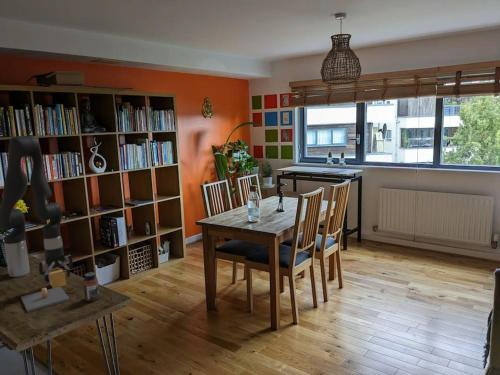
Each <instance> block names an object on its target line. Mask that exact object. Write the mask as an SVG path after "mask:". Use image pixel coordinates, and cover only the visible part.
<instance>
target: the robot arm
mask: <svg viewBox="0 0 500 375" xmlns="http://www.w3.org/2000/svg"><path fill="white" fill-rule="evenodd" d="M7 154H8V156H7V167H6V175H5V179H4V184H3V192H2V198H1V201H0V202H1V203H0V230H2V231H7V230H11V229H12V230H11V232H10V233H8V234H6V235H5V236H4V237H3V243H4V244H3V245H4V249H5V257H6V264H7V271H8V276H9V277H12V278H17V277H21V276H25V275H27V274H29V273H30V272H31V271H30V263H29V255H28V247H27V242H26V235H27V234H26V219H25V218H26V217H25V215H24V213H23V211H22V209H20V208H14V207H15V206H16V205H17V203H19V201H20V200H21V199H22V198H23V197H24V196H25V194H26V192H27V189H28V188H27V187H28V182H29V185H30V189H31V190H32V194H33V197H34V206H35V207H34V208H35V209H34V211H35V215H36V217H37V219H39V220H40V221H43V222H44V221H48V222H47V224H44V225H43V227H42V234H43V246H44V254H45V255H44V256H45V260H43V261H41V260H39V261H38V273H39V275H40V276H43V277H44V281H45V282H46V283H50V277H49V273H50V272H51V270H52V269H56V268H61V267H63V268H64V269H65V278H70V276H71V272H70V271H71V270H70V269H71V268H74V262H73V258H72V255H71V254H68V255H65V254H64V246H63V239H62V235H61V228H60V227H61V222H62V215H63V210H62V207H61V205H60V204H59V203H57V202H51V203H47V199H50V198H51V197H52V196H53V194H52V191H51V188H50V185H49V183H48V180H47V176H46V172H45V171H46V170H45V167H44V159H43V155H42V151H41V146H40V142H39V140H38V138H37V137H36V136H35V135H31V134H30V135H19V136H13V137H11V138H10V139H9V143H8V153H7ZM24 157H30V158H31V161H32V169H31V170H32V171H31V174H30V178H29V179H30V180H28V176H27V175H26V173H25V171H24V170H23V169H22V165H21V160H22V158H24ZM66 260H67V261H68V264H69V265H67V264H66V263H65V261H66ZM45 264H46V268H45V269H43V268H44V266H45Z"/></svg>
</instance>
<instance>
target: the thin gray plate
mask: <svg viewBox="0 0 500 375" xmlns="http://www.w3.org/2000/svg"><path fill="white" fill-rule="evenodd" d="M20 298H21V301H22V303H23V306H24V307H25V310H26V312H27V313H29V312H33V311H37V310H40V309H45V308H48V307H51V306H54V305H58V304H62V303H65V302H68V301H69V302H70V299H71V298H70V297H69V295H68V294H67V293H66V292H65V290H64V289H63V288H62V286H60V287H56V288H52V287H51V288H50V289H47V287H42V288H41V291H37V292H34V293H29V294H26V295H23V296H20Z"/></svg>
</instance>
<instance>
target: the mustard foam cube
mask: <svg viewBox="0 0 500 375" xmlns="http://www.w3.org/2000/svg"><path fill="white" fill-rule="evenodd" d="M48 277H49V283H50V286H51V289H52V288H56V287H60V286H61V287H64V286H67V281H66V272H65V271H64V270H63V269H59V270H55V271H49V273H48Z"/></svg>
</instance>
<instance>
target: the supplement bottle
mask: <svg viewBox="0 0 500 375" xmlns="http://www.w3.org/2000/svg"><path fill="white" fill-rule="evenodd" d="M82 284H83V285H82V286H83V294H84V300H85V301H86V302H94V301H97V300H98V299H99V298H100V296H101V295H100V286H99V279H98V277H97V276H96V273H95V272H91V271H90V272H86V274H84V279H83V281H82Z"/></svg>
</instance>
